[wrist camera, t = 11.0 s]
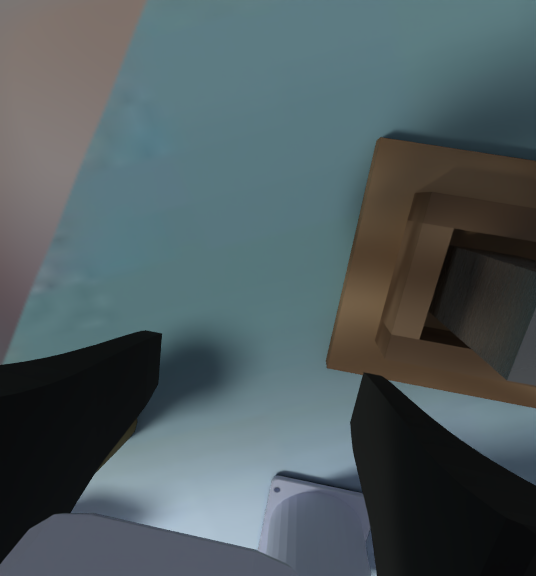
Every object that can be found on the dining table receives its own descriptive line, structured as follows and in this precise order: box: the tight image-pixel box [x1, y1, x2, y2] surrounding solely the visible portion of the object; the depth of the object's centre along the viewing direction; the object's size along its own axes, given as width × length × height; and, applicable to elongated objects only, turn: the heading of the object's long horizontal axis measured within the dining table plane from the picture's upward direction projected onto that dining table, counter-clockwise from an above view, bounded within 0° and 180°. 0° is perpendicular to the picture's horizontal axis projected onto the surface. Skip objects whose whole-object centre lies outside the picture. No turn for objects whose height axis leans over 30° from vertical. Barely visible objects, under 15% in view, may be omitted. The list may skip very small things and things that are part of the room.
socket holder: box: [326, 137, 536, 408], centre depth 18 cm, size 14×14×4 cm
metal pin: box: [428, 245, 536, 386], centre depth 15 cm, size 4×4×8 cm
